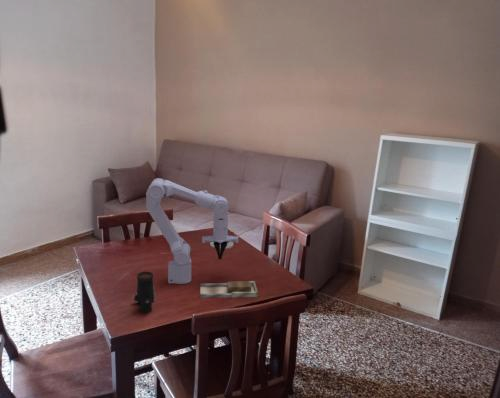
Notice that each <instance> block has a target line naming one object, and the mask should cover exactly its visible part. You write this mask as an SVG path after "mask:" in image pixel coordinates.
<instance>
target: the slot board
mask: <svg viewBox="0 0 500 398" xmlns="http://www.w3.org/2000/svg"><path fill="white" fill-rule="evenodd" d="M244 281H245V280H244ZM244 281H242V280H241V281H235V280H234V282H244ZM227 283H228V282H219V283H218V282H217V283H213V282H212V283H206V282H205V283H200V285H199V287H200V289H199V291H200V293H199V294H200V296H199V297H200V299H214V298H215V299H218V298H225V299H226V298H258V297H259V293H258V292H259V291H258V288H257V284H256V281H255V280H253V281H252V280H251V281H250V283H251V292H232V293H228V290H227Z"/></svg>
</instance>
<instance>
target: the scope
mask: <svg viewBox="0 0 500 398" xmlns="http://www.w3.org/2000/svg"><path fill="white" fill-rule="evenodd" d="M136 279H137V289H136V294H135V295H133V296H132V300H134V301H135V302H137V305H138V306H139V310H140V313H142V314H149V313H151V312H152V310H153V304H152V303H154V300H155V298H156V294H155V286H154V273H153V272H151V271H141V272H139V273H137V274H136Z"/></svg>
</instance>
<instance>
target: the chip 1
mask: <svg viewBox="0 0 500 398" xmlns="http://www.w3.org/2000/svg"><path fill="white" fill-rule="evenodd" d="M226 283H227V290H228V293H232V292H240V285H239V282H235V281H227V282H226Z"/></svg>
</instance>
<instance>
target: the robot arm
mask: <svg viewBox="0 0 500 398" xmlns="http://www.w3.org/2000/svg"><path fill="white" fill-rule="evenodd" d="M173 195H175V196H180V197H183V198H185V199H189V200H192V201H194V202H195V204H196V205H197V206H200V207H203V208H206V209H208V210H212V211H214V212H213V225H212V226H213V229H212V231H213V233H212V234H213V235H207V236H206V235H205V236H202V238H201V239H202V240H201V241H202V242H201V243H202V244H203V243H210V242H214V247H215V248H214V249H215V250H216V253H217V259H218V260H222V259H223V255H224V252H225V250H226V249H225V248H226V246H227V242H233V243H237V244H238V243H239V236H233V235H229V234H228V233H229V232H228V231H229V226H228V225H229V224H228V223H229V216H228V214H229V209H230V207H229V202H228V199H227V198H225V197H224V196H223V195H218V194H216V195H214V194H212V193H209V192H208V190H206V189H205V190H199V191H195V190H192V189H190V188H187V187H186V186H182V185H180V184H178V183H176V182H173V181H171V180H168V179H163V178H160V177H158V178H154V179H153V180H152V181H151V183H150V185H149V186H148V188H147V190H146V193H145V196H146V197H145V200H146V201H145V208H146V210H147V212H148V213H149V215H150V216H151V218H152V220H153V221H154V222H155V224H156V226H157V227H158V229H159V231H160V232H161V234H162V235H163V237H164V238H165V240H166V242H167V243H168V244H169V248H170V250H171V251H170V252H171V253H172V255H173V260H169V261H168V266H167V267H168V268H167V271H168V272H167V279H168V281H167V282H168V284H178V285H179V284H180V285H181V284H182V285H184V284H188V283H190V282H191V281H192V259H191V255H190V254H191V252H192V247H191V245H190V244H189V243H187V242H186V241H185V239H184V238H182V237H181V236H180V234H179V233H178V232H177V230H176V229H175V227H174V225H173V224H172V222H171V220H170V218H169V217H168V215H167V213H165V212H166V211H164V209H163V208H162V205H161V202H162V199H163V198H164V196H165V197H170V196H173ZM220 243H221V247H220Z"/></svg>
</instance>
